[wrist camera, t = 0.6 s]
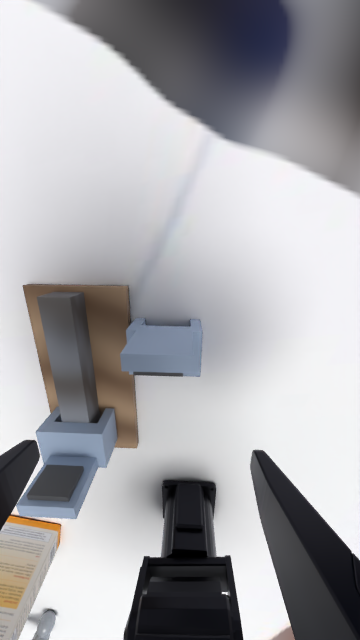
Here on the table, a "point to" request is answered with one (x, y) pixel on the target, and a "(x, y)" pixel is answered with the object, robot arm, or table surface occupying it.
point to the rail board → (103, 349)
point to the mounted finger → (68, 464)
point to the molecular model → (45, 626)
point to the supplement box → (23, 569)
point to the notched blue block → (162, 349)
